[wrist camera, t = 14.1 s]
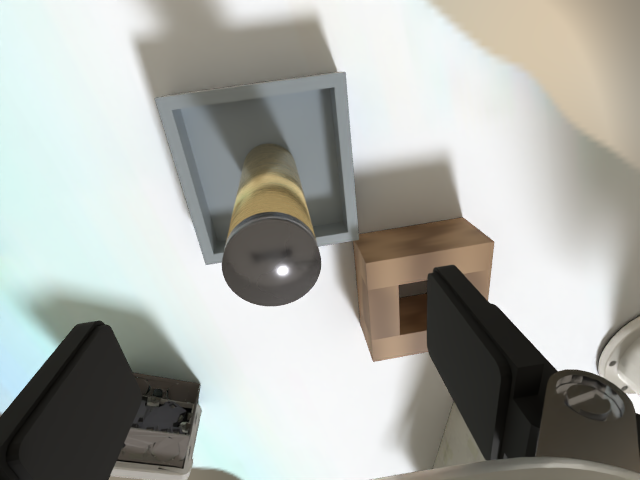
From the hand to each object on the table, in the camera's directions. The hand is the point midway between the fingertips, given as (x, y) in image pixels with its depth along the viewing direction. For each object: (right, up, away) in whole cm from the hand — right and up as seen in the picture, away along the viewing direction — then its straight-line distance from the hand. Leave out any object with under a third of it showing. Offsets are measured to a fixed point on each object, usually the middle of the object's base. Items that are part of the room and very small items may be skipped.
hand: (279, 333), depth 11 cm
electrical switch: (-15, -12, +25) cm, 32 cm away
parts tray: (-3, +8, +17) cm, 19 cm away
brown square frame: (+10, 0, +23) cm, 25 cm away
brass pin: (-3, +8, +16) cm, 18 cm away
